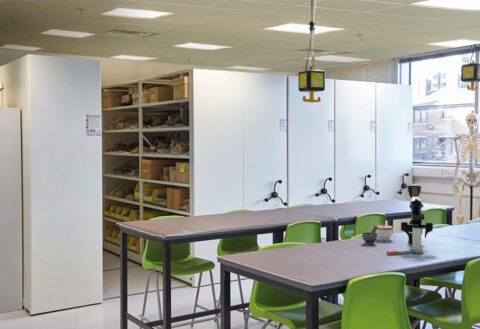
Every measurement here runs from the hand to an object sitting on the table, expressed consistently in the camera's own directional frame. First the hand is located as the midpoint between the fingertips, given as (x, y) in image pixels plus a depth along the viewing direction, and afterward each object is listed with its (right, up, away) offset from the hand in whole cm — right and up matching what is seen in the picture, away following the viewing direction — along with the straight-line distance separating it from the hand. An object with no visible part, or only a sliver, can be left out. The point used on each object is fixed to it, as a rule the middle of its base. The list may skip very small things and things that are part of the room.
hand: (417, 237), depth 360 cm
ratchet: (-7, -10, 0) cm, 12 cm away
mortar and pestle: (-20, -9, +36) cm, 42 cm away
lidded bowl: (-8, -8, +51) cm, 52 cm away
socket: (0, -7, +2) cm, 7 cm away
